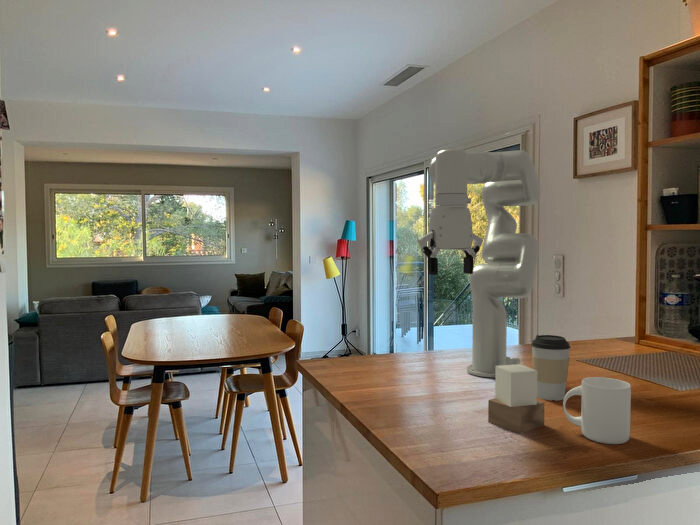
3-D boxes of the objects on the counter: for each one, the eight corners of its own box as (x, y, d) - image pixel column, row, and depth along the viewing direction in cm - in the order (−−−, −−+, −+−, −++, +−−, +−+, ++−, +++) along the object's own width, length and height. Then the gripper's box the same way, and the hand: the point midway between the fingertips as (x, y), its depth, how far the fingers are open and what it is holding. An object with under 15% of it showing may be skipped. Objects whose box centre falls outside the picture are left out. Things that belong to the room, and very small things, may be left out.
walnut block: (512, 416, 116) (512, 393, 116) (544, 426, 110) (544, 402, 110) (488, 423, 112) (488, 400, 112) (520, 434, 105) (520, 409, 105)
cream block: (520, 396, 114) (520, 364, 114) (536, 404, 108) (537, 370, 108) (495, 398, 113) (495, 365, 112) (510, 406, 107) (511, 372, 107)
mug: (565, 423, 111) (566, 372, 110) (630, 433, 105) (631, 380, 105) (559, 437, 103) (560, 382, 103) (629, 448, 97) (630, 391, 97)
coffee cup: (568, 393, 133) (569, 333, 132) (571, 403, 124) (572, 340, 124) (530, 389, 136) (531, 331, 135) (530, 399, 127) (531, 337, 127)
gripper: (473, 204, 133) (472, 272, 133) (411, 202, 127) (411, 274, 127) (491, 202, 126) (490, 274, 126) (426, 200, 120) (426, 276, 120)
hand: (450, 274), depth 127 cm, fingers open, 9 cm apart
